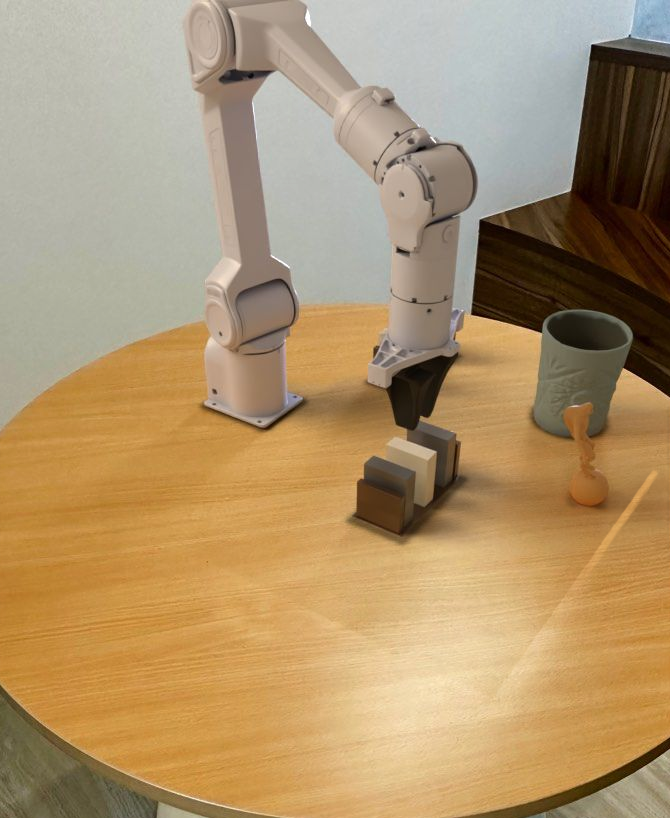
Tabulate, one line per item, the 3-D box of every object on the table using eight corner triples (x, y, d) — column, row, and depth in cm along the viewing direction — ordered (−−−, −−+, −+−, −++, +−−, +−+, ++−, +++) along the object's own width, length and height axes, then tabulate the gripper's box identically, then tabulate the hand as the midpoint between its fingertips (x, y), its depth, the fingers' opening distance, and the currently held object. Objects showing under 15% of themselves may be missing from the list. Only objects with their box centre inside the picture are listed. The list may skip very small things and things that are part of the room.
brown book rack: (351, 520, 91) (352, 468, 87) (414, 462, 100) (417, 412, 96) (401, 541, 89) (404, 488, 85) (461, 480, 97) (466, 429, 93)
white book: (384, 491, 94) (386, 444, 91) (392, 483, 96) (395, 436, 92) (424, 507, 92) (428, 460, 89) (433, 498, 94) (437, 451, 90)
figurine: (607, 528, 91) (631, 429, 84) (548, 521, 92) (567, 423, 84) (602, 481, 97) (625, 385, 90) (547, 476, 98) (565, 380, 90)
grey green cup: (558, 389, 113) (574, 301, 105) (628, 419, 107) (651, 329, 100) (511, 419, 107) (525, 328, 99) (582, 453, 102) (602, 359, 94)
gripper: (419, 332, 73) (410, 467, 82) (498, 274, 82) (482, 401, 91) (348, 310, 76) (347, 443, 85) (432, 257, 85) (423, 381, 94)
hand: (413, 420), depth 88 cm, fingers closed
